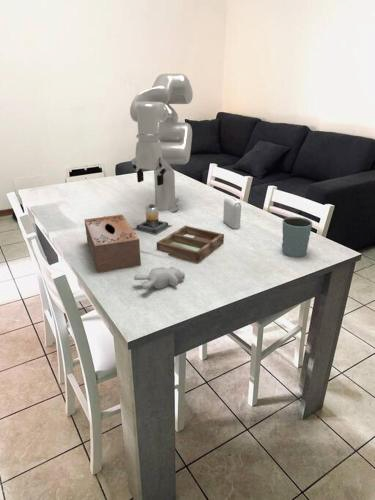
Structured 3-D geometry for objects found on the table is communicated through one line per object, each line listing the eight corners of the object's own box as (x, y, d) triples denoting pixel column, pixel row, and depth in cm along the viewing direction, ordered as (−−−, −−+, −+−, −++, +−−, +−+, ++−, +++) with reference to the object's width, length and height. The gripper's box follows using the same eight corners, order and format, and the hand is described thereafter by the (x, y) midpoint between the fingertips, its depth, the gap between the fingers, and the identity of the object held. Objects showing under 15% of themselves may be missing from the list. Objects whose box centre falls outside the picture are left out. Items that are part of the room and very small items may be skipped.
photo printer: (221, 221, 162) (222, 194, 156) (230, 220, 163) (231, 193, 158) (232, 229, 153) (233, 201, 148) (241, 228, 154) (243, 200, 149)
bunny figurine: (190, 273, 111) (145, 281, 103) (188, 288, 113) (144, 297, 105) (174, 261, 118) (132, 268, 110) (173, 275, 120) (131, 283, 112)
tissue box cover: (87, 243, 141) (84, 219, 137) (124, 238, 146) (122, 214, 142) (98, 273, 120) (94, 246, 115) (141, 266, 124) (139, 239, 120)
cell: (151, 224, 156) (150, 202, 152) (161, 226, 154) (160, 204, 149) (144, 228, 152) (142, 205, 148) (153, 230, 150) (152, 207, 146)
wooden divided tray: (185, 234, 149) (185, 225, 147) (223, 243, 141) (223, 234, 139) (157, 252, 134) (156, 242, 132) (198, 263, 125) (198, 253, 124)
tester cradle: (149, 222, 161) (149, 217, 160) (172, 227, 155) (172, 222, 154) (132, 231, 152) (132, 225, 150) (155, 237, 146) (155, 231, 145)
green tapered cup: (303, 260, 127) (307, 228, 122) (275, 254, 132) (278, 223, 127) (310, 250, 135) (315, 219, 130) (284, 244, 140) (287, 214, 135)
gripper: (124, 138, 139) (127, 182, 146) (161, 141, 130) (162, 188, 137) (136, 135, 144) (138, 178, 151) (173, 138, 136) (173, 184, 143)
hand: (150, 183), depth 144 cm, fingers open, 9 cm apart
